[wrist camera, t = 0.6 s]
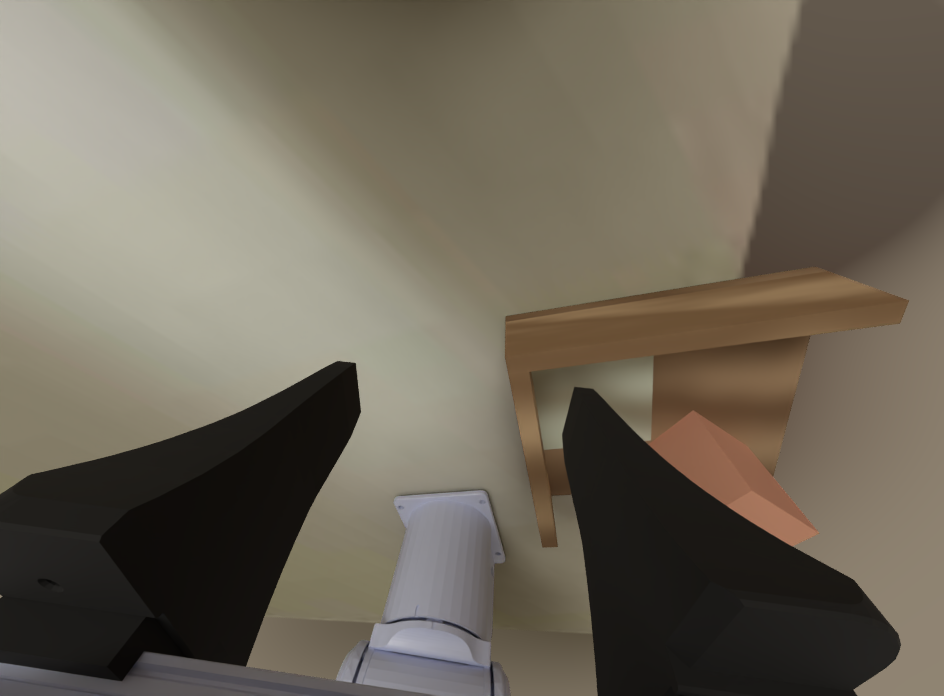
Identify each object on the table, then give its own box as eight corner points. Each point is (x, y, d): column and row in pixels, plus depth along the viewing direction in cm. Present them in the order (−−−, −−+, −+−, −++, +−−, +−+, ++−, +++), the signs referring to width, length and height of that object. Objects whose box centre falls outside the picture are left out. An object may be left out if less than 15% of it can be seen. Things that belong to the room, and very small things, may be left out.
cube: (747, 446, 23) (819, 533, 17) (685, 487, 25) (732, 575, 20) (693, 410, 22) (751, 490, 17) (633, 455, 24) (668, 539, 19)
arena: (764, 471, 25) (816, 536, 20) (537, 488, 28) (542, 547, 23) (814, 266, 18) (908, 300, 14) (505, 316, 21) (505, 357, 17)
